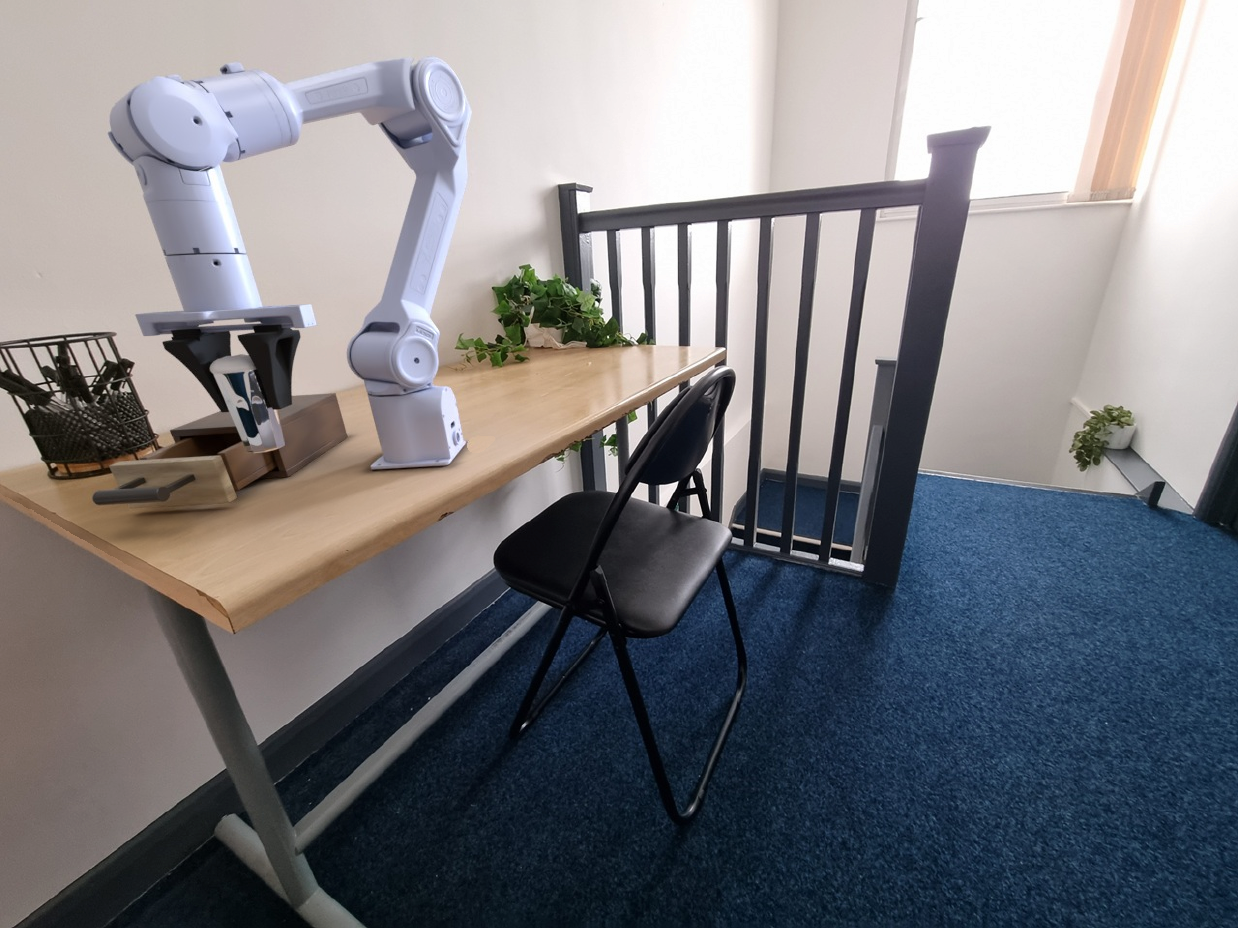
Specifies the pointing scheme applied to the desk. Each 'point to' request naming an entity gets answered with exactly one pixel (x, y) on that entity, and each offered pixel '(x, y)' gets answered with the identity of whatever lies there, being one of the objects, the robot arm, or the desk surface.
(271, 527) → the desk surface
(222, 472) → the drawer
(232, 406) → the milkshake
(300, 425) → the cabinet
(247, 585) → the desk surface
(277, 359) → the robot arm
